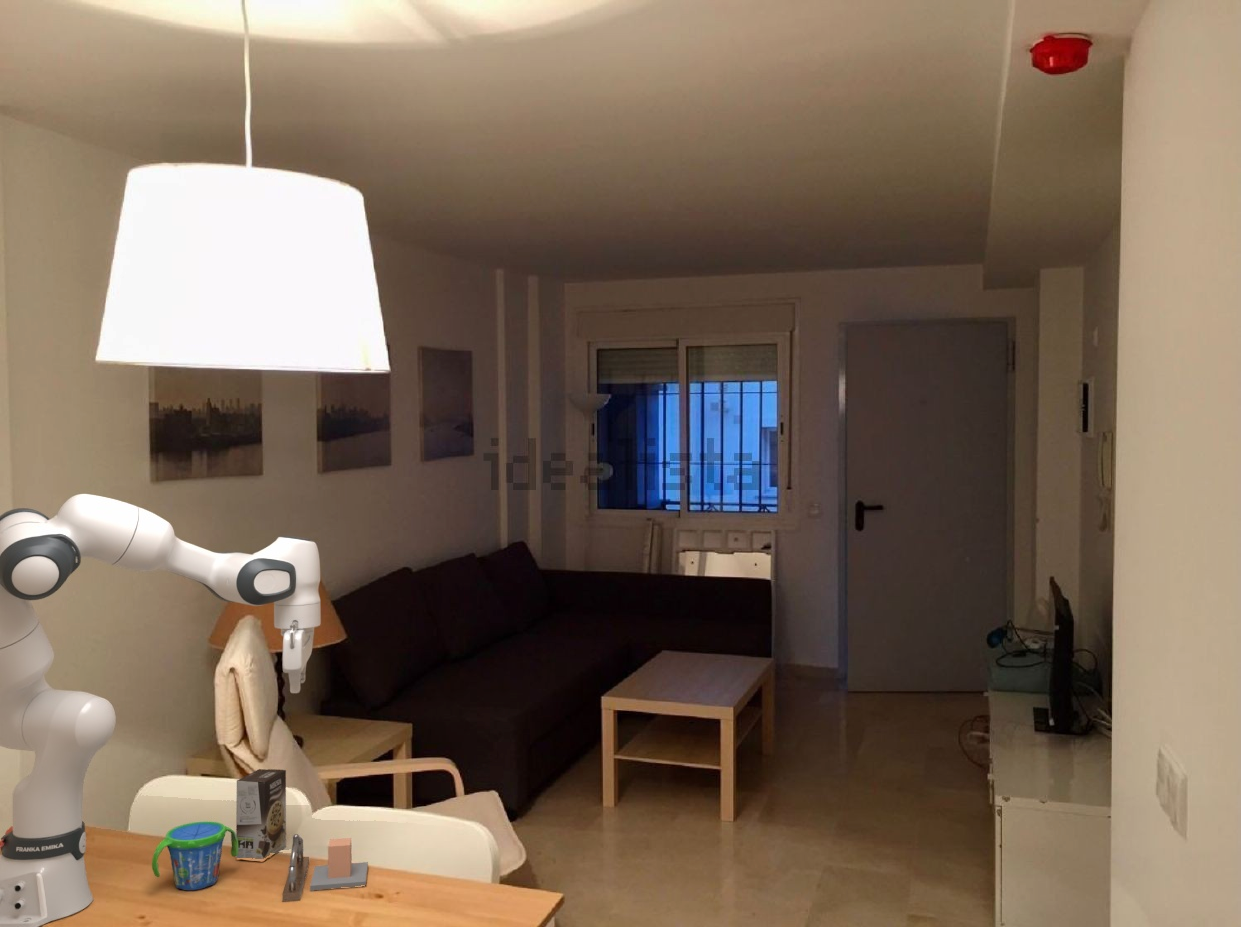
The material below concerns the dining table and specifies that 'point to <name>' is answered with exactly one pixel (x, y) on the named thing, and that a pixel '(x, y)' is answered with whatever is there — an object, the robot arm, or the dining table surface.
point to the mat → (355, 879)
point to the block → (339, 858)
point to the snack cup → (195, 853)
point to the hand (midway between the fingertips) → (297, 687)
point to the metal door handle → (296, 871)
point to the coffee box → (261, 813)
